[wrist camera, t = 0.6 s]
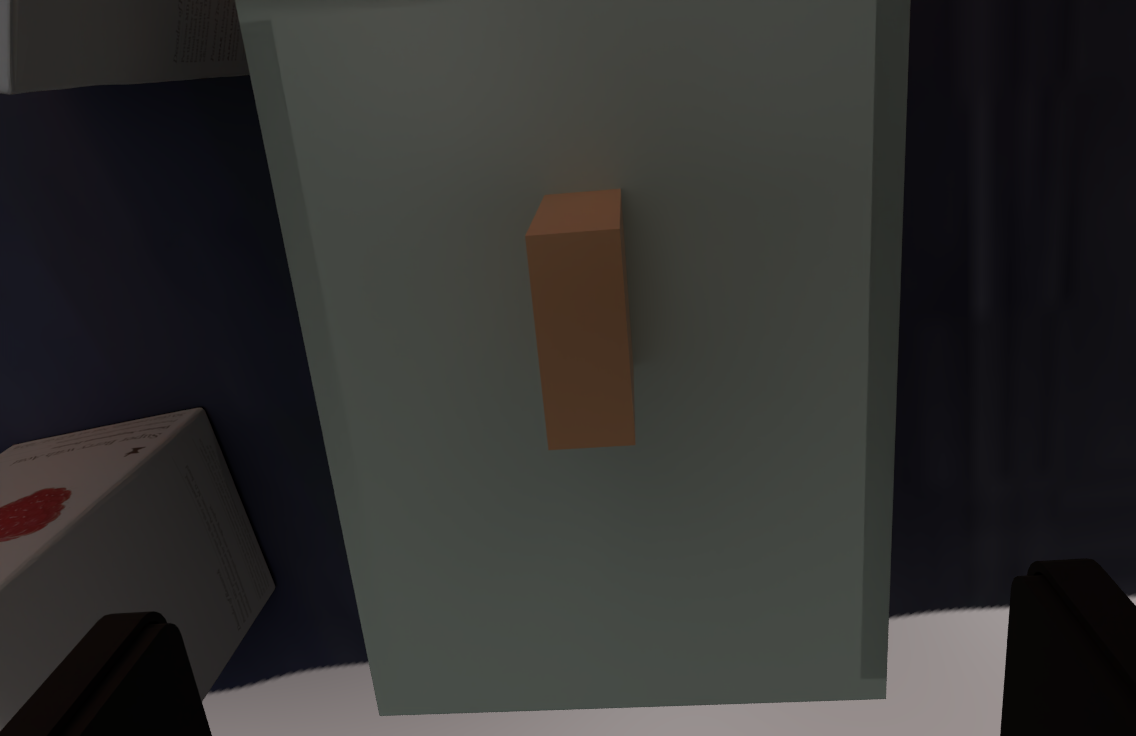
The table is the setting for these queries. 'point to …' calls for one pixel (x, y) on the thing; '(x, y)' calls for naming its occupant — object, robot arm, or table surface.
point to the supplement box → (123, 546)
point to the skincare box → (116, 42)
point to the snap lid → (599, 336)
